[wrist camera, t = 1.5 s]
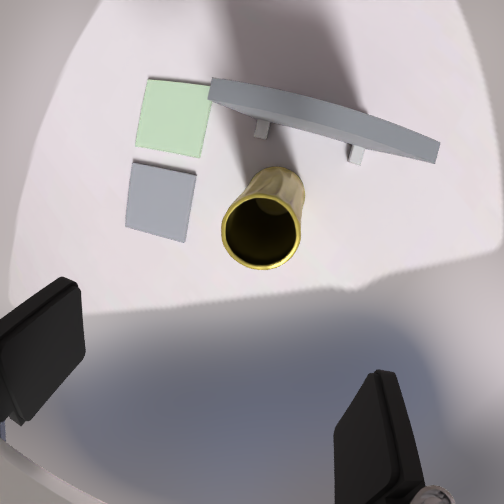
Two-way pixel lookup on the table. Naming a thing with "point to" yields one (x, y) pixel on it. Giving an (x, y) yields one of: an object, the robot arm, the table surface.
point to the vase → (265, 220)
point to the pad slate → (159, 201)
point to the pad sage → (174, 117)
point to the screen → (321, 120)
